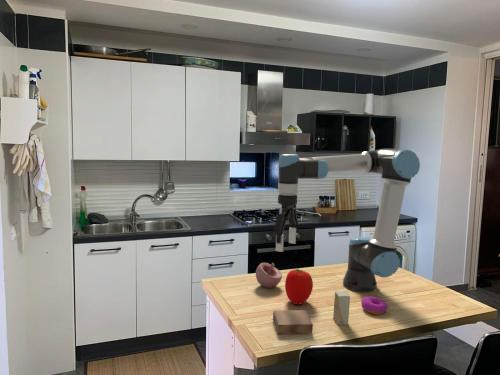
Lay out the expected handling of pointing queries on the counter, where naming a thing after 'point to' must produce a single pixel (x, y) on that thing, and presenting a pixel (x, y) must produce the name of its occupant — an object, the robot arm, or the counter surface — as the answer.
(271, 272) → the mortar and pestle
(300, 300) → the tomato
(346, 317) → the box
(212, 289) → the counter surface
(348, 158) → the robot arm
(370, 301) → the donut
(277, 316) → the walnut block
